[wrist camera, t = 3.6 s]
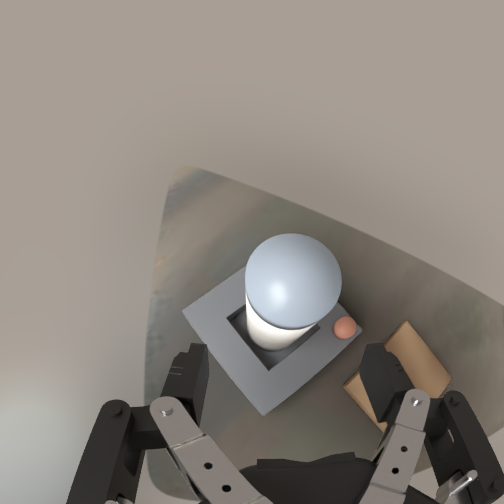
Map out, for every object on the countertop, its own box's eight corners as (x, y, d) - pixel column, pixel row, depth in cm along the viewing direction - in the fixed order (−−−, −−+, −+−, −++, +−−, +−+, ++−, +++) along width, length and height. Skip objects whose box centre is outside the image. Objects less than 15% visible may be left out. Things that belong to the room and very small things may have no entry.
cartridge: (275, 294, 25) (297, 217, 14) (306, 331, 24) (360, 283, 12) (237, 323, 24) (225, 268, 12) (268, 362, 23) (289, 346, 11)
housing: (279, 252, 28) (282, 234, 25) (352, 335, 24) (367, 328, 21) (187, 317, 25) (178, 308, 22) (261, 412, 21) (263, 418, 18)
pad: (401, 322, 24) (406, 320, 24) (446, 379, 21) (451, 378, 21) (342, 386, 22) (345, 386, 21) (393, 443, 19) (398, 445, 18)
